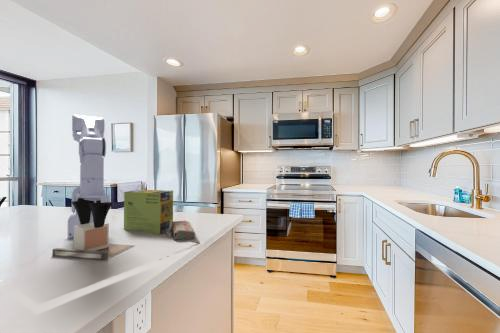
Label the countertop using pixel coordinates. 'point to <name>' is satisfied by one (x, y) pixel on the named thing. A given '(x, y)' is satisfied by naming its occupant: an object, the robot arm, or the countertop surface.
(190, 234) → the packaged product
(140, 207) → the protein box
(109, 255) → the shelf
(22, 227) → the countertop surface
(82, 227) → the carton
